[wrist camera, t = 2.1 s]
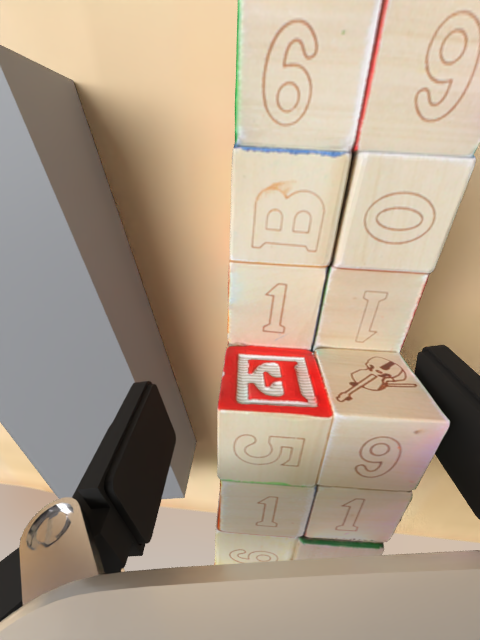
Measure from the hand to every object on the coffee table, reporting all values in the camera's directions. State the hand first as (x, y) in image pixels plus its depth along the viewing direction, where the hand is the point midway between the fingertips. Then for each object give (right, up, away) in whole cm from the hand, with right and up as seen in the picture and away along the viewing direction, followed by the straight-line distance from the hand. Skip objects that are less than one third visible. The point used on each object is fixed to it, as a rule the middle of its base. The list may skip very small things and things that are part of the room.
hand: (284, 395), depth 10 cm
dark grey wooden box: (-13, +2, +10) cm, 16 cm away
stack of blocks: (+1, +5, +9) cm, 10 cm away
